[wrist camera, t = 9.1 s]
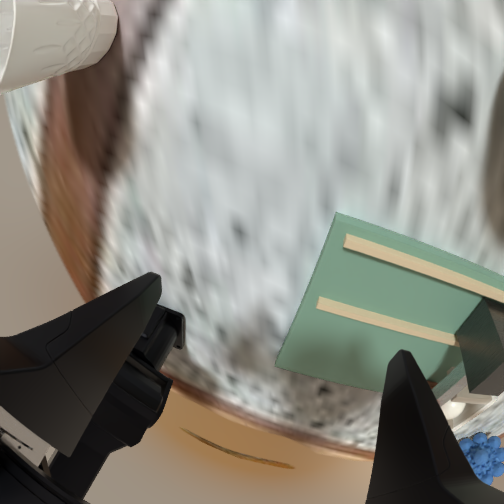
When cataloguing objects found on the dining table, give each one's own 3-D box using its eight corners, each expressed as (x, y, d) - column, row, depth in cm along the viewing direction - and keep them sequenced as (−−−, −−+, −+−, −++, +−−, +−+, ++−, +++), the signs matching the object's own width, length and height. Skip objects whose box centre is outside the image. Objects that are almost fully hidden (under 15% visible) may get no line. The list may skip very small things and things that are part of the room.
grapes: (507, 415, 28) (514, 474, 19) (502, 427, 31) (506, 481, 21) (450, 434, 34) (450, 495, 24) (449, 445, 36) (449, 499, 27)
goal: (450, 399, 28) (453, 431, 24) (411, 394, 29) (412, 429, 25) (489, 365, 24) (497, 400, 20) (450, 357, 24) (457, 396, 20)
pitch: (460, 396, 28) (461, 408, 26) (276, 357, 30) (272, 372, 29) (551, 299, 17) (559, 313, 15) (336, 212, 20) (335, 225, 18)
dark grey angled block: (428, 393, 26) (430, 442, 21) (401, 389, 27) (401, 440, 22) (510, 308, 18) (532, 364, 12) (484, 297, 18) (506, 359, 13)
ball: (445, 430, 23) (423, 413, 25) (454, 407, 25) (434, 391, 27) (468, 415, 20) (444, 397, 22) (475, 391, 23) (454, 373, 25)
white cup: (101, 87, 18) (-2, 118, 11) (51, 59, 17) (-39, 83, 10) (141, 0, 14) (31, -11, 6) (81, -16, 13) (-14, -16, 5)
